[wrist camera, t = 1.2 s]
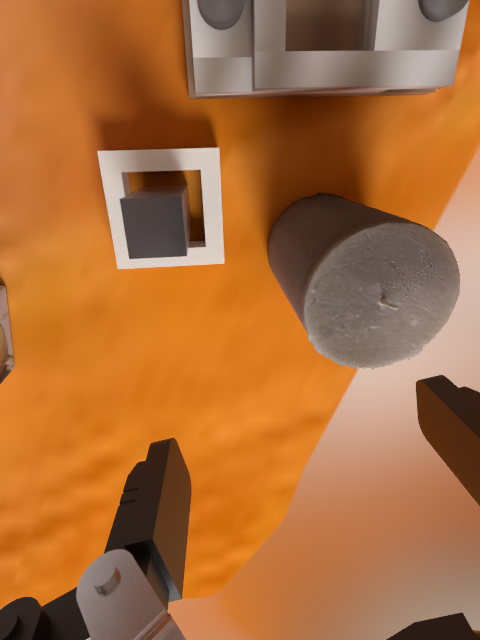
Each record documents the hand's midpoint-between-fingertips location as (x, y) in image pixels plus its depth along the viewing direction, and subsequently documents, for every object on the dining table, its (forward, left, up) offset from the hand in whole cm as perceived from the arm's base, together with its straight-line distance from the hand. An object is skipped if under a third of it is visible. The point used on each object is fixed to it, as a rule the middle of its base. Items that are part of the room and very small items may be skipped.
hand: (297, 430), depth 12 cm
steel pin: (-6, +4, -24) cm, 25 cm away
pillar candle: (+8, 0, -24) cm, 25 cm away
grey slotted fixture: (+6, +17, -24) cm, 30 cm away
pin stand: (-6, +4, -24) cm, 25 cm away
